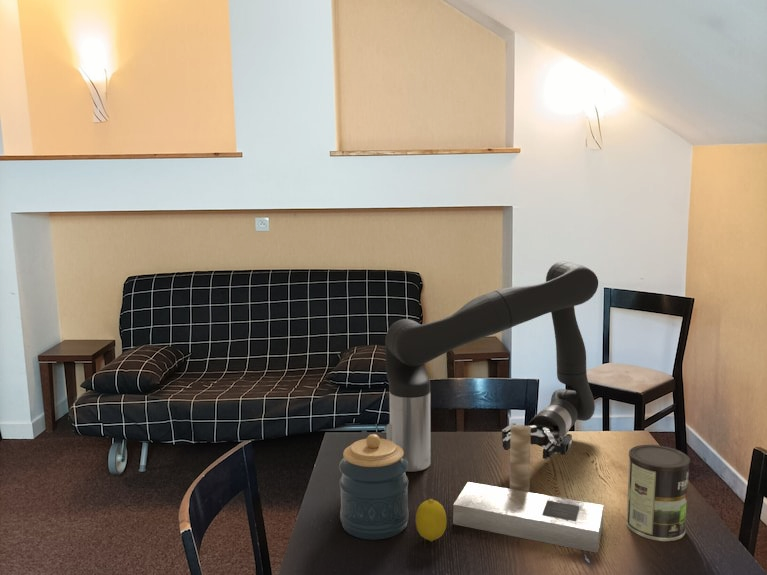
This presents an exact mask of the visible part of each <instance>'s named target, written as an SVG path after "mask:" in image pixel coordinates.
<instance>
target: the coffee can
mask: <svg viewBox="0 0 767 575" xmlns="http://www.w3.org/2000/svg"><path fill="white" fill-rule="evenodd" d="M628 456H629V462H628V463H629V464H628V482H627V483H628V484H627V485H628V487H627V507H626V519H625V521H626V522H625V524H626V526H627V528H628V529H629V530H630V531H631V532H632V533H634V534H636V535H638V536H640V537H642V538H645V539H648V540H653V541H656V542H675V541H679V540H681V539H682V538H684V536H685V535H686V520H687V517H686V516H687V504H688V503H687V501H688V490H689V489H688V487H689V486H688V484H689V471H690V464H691V458H690V457H689V456H688V455H687V454H686V453H684V452H683V451H682V450H678V449H677V448H673V447H669V446H665V445H659V444H642V445H640V444H639V445H635V446H633V447H631V448H630V449H629V451H628Z"/></svg>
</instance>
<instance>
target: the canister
mask: <svg viewBox="0 0 767 575" xmlns="http://www.w3.org/2000/svg"><path fill="white" fill-rule="evenodd" d="M403 455H404V451H403V449H402V448H401V447H400V446H398V445H396V444H394V443H393V442H392V441H390V440H387V438H386V439H385V438H383V437H382V438H381V437H380V436H379V435H378V434H376V433H373V434H372V433H371V434H368V436H366V438H362V439H359V440H357V441H354V442H353V443H352V444H350V445H349V446H347V447H346V448H344V451H343V453H342V456H343V458H342V459H341V461H340V462H339V465H338V469H339V471H340V473H341V477H340V480H339V487H340V511H339V513H340V515H339V518H340V522H341V525H342V528H343V530H344V531H345V532H346V533H348V534H349V535H351V536H353V537H355V538H359V539H363V540H374V541H375V540H384V539H388V538H392V537H395V536H396V535H399V534H400V533H402V532H403V531H404V530H405V529H406V527H407V526H408V520H409V518H410V517H409V516H410V515H409V512H410V510H409V507H408V502H409V501H408V499H409V498H408V491H409V490H408V487H409V479H408V476H407V475H406V472H407V471H406V470H407V469H408V462H407V460H406V459H405V458H404V457H403Z"/></svg>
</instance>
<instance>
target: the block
mask: <svg viewBox="0 0 767 575" xmlns="http://www.w3.org/2000/svg"><path fill="white" fill-rule="evenodd" d="M604 507H605V506H604V504H600V503H593V502H587V501H581V500H574V499H571V498H570V499H569V498H564V497H559V496H558V497H557V496H552V495H547V494H540V493H534V492H530V491H529V492H524V491H518V490H512V489H510V488H507V487H501V486H500V487H499V486H495V485H489V484H483V483H476V482H472V481H471V482H470V481H467V483H466V484H465V486H464V487H463V489H462V490H461V491H460V494H459V495H458V496H457V498H456V499H455V501H454V503H453V507H452V508H453V513H452V518H453V519H452V524H453V525H454V526H455V525H456V526H460V527H464V528H465V527H466V528H470V529H475V530H481V531H485V532H490V533H495V534H501V535H505V536H510V537H515V538H521V539H526V540H530V541H536V542H540V543H545V544H550V545H555V546H560V547H563V548H564V547H566V548H570V549H575V550H581V551H584V552H585V551H586V552H590V553H595V554H598V552H599V548H600V543H601V536H602V531H603V527H604V524H603V523H604Z"/></svg>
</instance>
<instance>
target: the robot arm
mask: <svg viewBox="0 0 767 575" xmlns="http://www.w3.org/2000/svg"><path fill="white" fill-rule="evenodd" d="M545 277H546V278H545V281H544V282H541V283H537V284H530V285H520V286H519V285H518V286H510V287H504V288H500V289H497V290H496V289H495V290H493V291H490V292H488V293H485V294H484V293H483V294H482V295H479V296H477V297H474V298H473V299H471V300H470V301H467V303H465V304H464V305H463V306H462V307H461V308H460V309H459V310H457V311H455V312H454V313H453V314H451V315H449V316H447V317H444V318H441V319H438V320H435V321H432V322H427V323H422V324H420V323H419V322H417V321H416V320H413V319H411V318H410V319H409V318H403V319H399V320H397V321H395V322H393V323H392V324H391V325H390V326H389V328H388V329H387V331H386V335H385V343H384V344H385V346H384V347H385V348H384V350H385V370H386V372H385V373H386V377H387V381H388V388H389V390H388V392H389V394H388V395H389V423H388V424H386V439H387V440H390V441H392V442H393V443H394V444H396V445H398V446H400V447H401V448H402V449H403V451H404V455H403V457H404V458H405V459H406V460H407V462H408V469H407V470H406V472H409V473H410V472H411V473H412V472H420V471H423V470H426V469H428V468H429V467H431V456H432V454H431V381H430V377H429V375H428V373H427V369H426V366H425V364H427V363H429V362H430V361H433V360H434V359H436V358H438V357H440V356H442V355H444V354H446V353H448V352H449V351H453V350H454V349H457V348H459V347H462V346H464V345H468V344H470V343H473V342H476V341H478V340H481V339H483V338H487V337H489V336H493V335H496V334H498V333H501V332H503V331H506V330H508V329H511V328H513V327H515V326H516V327H517V326H518V325H520V324H523V323H526V322H529V321H533V320H534V319H536V318H539V317H542V316H543V315H547V314H550V313H551V314H550V315H551V319H552V324H553V331H554V340H555V351H556V376H557V380H558V382H560V383H561V384H563V385H566V386H568V387H570V388H572V389H573V390H572V389H566V388H561V389H560V388H559V389H557V390H554V392H553V393H552V394H551V395H552V396H551V399H550V403H549V405H547V407H544V408H543V409H541V410H540V411H539V412H538V413H537V414H536V415H534V417H532V418H531V419H530V421H529V422H528V424H527V426H528V427H530V428H531V441H530V446H531V445H532V446H533V445H535V446H539V447H542V448H543V449H542V459H544V460H548V458H551V457H552V456H554V455H556V454H557V453H559V454H560V455H561V456H565V455H567V453H568V452H569V451H570V449H571V448H572V446H573V444H572V442H573V440H572V439H573V435H572V434H570V433H568V432H569V430H570V429H571V428H572V427H573V426H574V425H575V423H576V422H577V421H582V422H583V421H584V422H585V421H589V420H590V419H591V418H592V417H593V415H594V414H595V410H596V404H595V398H594V396H593V393H592V390H591V388H590V382H589V380H588V374H587V350H586V346H585V345H586V344H585V342H584V339H583V335H582V333H581V331H580V327H579V324H578V321H577V317H576V311H575V307H576V306H580V305H582V304H585V303H586V302H588V301H590V300H591V299H592V298H593V297H594V296H595V294H596V292H597V290H598V288H599V279H598V276H597V275H596V273H595V272H594V271H593V270H591V269H590V268H588V267H586V266H584V265H582V264H581V265H580V264H577V263H574V262H569V261H558V262H556V263H554V264H553V265H551V266H550V268H549V269H548V271H547V273H546V276H545ZM514 425H518V424H517V423H516V422H512V423H511V424H509V425H508V426H506V427H505V428H503V429H502V430H501V441H502V448H503V450H504V451H509V450H510V439H511V427H512V426H514Z"/></svg>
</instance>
